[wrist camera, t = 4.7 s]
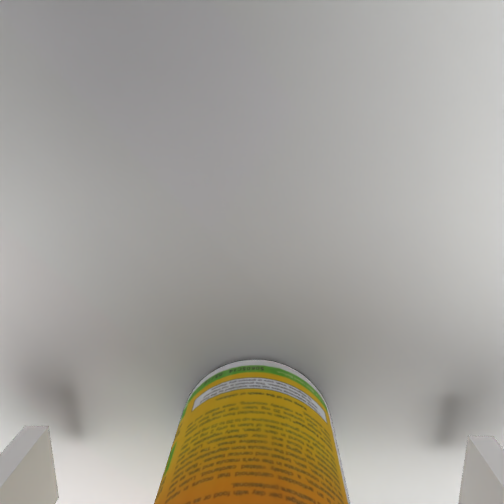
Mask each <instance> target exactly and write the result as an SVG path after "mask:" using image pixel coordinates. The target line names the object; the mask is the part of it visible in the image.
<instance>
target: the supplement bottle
mask: <svg viewBox="0 0 504 504" xmlns="http://www.w3.org/2000/svg"><path fill="white" fill-rule="evenodd" d="M154 504H350V499H349V495H348V490H347V486H346V481H345V477H344V472H343V468H342V463H341V459H340V454H339V450H338V445H337V441H336V436H335V432H334V427H333V423H332V419H331V416H330V413H329V409H328V406H327V404H326V402H325V400H324V398H323V396H322V395H321V393H320V392H319V390H318V389H317V388H316V387H315V386H314V385H313V384H312V383H311V382H310V381H309V380H308V379H307V378H306V377H305V376H303V375H302V374H301V373H299V372H298V371H296V370H294V369H292V368H290V367H288V366H286V365H283V364H280V363H277V362H273V361H268V360H243V361H238V362H233V363H230V364H227V365H225V366H222V367H220V368H218V369H216V370H215V371H213V372H212V373H210V374H209V375H207V376H206V377H205V378H204V379H202V380H201V381H200V382H199V383H198V385H197V386H196V387H195V388H194V390H193V391H192V393H191V394H190V396H189V398H188V400H187V402H186V405H185V407H184V410H183V413H182V416H181V419H180V422H179V425H178V429H177V432H176V435H175V439H174V442H173V445H172V448H171V451H170V455H169V458H168V461H167V464H166V468H165V471H164V474H163V477H162V480H161V483H160V487H159V490H158V493H157V496H156V499H155V503H154Z"/></svg>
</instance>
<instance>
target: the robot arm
mask: <svg viewBox="0 0 504 504" xmlns="http://www.w3.org/2000/svg"><path fill="white" fill-rule="evenodd" d="M58 498H59V496H58V489H57V482H56V475H55V468H54V461H53V454H52V447H51V440H50V433H49V426H24V427H23V429H22V430H21V431H20V432H19V433H18V434H17V436H16V437H15V438H14V439H13V440H12V441H11V442H10V444H9V445H8V446H7V447H6V448H5V449H4V450H3V452H2V453H1V454H0V504H55V503H56V501H57V500H58ZM458 504H504V449H503V448H502V447H501V445H500V444H499V443H498V441H497V440H496V439H495V437H494V436H468V440H467V447H466V453H465V460H464V467H463V474H462V481H461V488H460V495H459V502H458Z"/></svg>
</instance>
